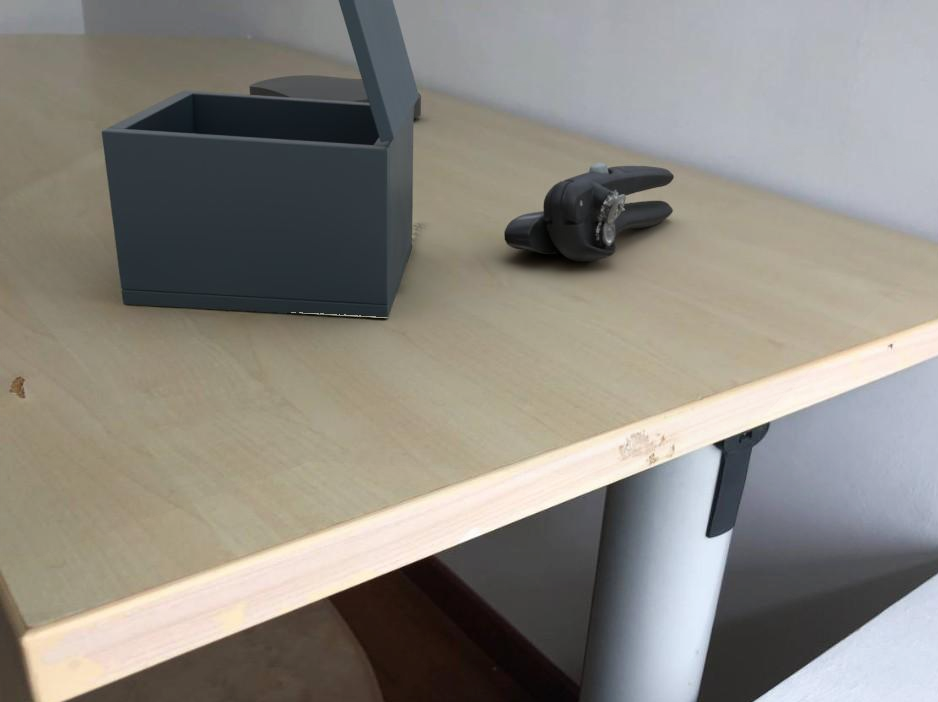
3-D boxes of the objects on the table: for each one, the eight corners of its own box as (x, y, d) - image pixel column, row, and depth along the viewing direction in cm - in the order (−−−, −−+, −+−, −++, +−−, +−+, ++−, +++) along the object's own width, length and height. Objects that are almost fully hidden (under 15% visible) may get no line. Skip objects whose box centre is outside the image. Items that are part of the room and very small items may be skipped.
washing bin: (122, 304, 51) (100, 130, 47) (195, 234, 62) (182, 90, 58) (387, 319, 51) (387, 149, 47) (412, 247, 62) (413, 105, 59)
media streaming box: (353, 97, 111) (353, 69, 110) (436, 120, 102) (437, 90, 101) (236, 106, 101) (234, 75, 100) (315, 132, 92) (314, 99, 91)
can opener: (584, 284, 58) (593, 190, 56) (489, 258, 62) (494, 168, 59) (707, 226, 72) (719, 148, 70) (624, 207, 75) (632, 132, 73)
